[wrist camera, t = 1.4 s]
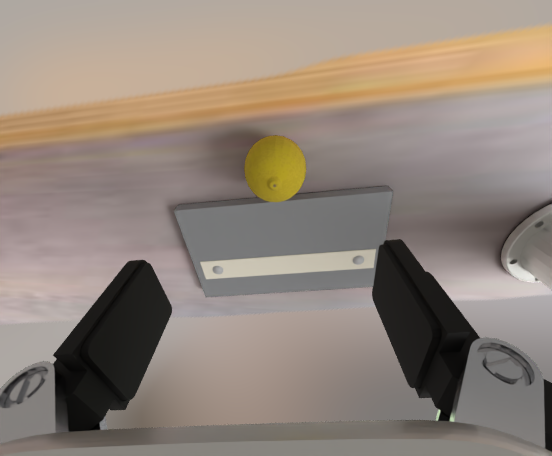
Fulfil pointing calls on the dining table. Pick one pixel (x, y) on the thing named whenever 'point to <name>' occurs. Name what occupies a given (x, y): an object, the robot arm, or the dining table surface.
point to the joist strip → (289, 264)
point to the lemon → (275, 168)
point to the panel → (286, 236)
